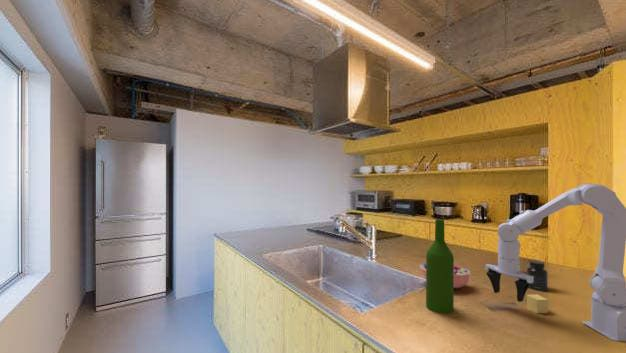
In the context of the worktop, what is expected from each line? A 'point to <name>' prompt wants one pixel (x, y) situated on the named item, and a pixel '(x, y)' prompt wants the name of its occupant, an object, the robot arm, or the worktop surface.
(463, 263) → the worktop surface
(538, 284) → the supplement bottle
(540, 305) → the ochre block
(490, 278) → the robot arm
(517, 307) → the walnut base
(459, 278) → the cell model
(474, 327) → the worktop surface
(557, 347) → the worktop surface
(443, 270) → the wine bottle
